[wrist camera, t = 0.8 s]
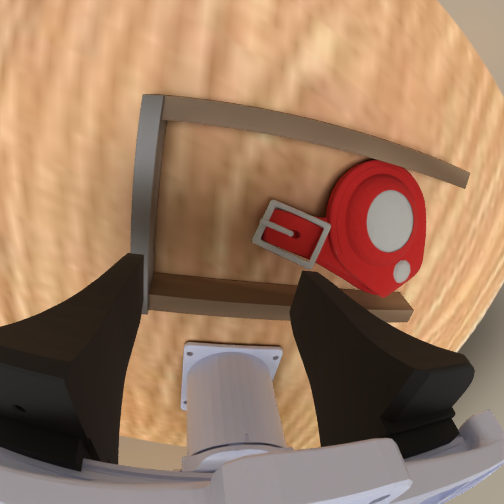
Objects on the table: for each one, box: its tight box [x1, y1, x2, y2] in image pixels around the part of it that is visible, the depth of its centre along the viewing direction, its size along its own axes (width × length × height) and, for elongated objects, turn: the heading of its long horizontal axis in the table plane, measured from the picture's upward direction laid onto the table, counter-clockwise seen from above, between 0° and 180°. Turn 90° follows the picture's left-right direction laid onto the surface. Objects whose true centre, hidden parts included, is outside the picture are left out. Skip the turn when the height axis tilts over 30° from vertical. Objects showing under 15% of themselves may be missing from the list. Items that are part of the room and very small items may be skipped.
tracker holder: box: [252, 160, 426, 298], centre depth 20 cm, size 12×4×10 cm
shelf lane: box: [131, 94, 470, 322], centre depth 19 cm, size 13×20×3 cm, turn 79°
